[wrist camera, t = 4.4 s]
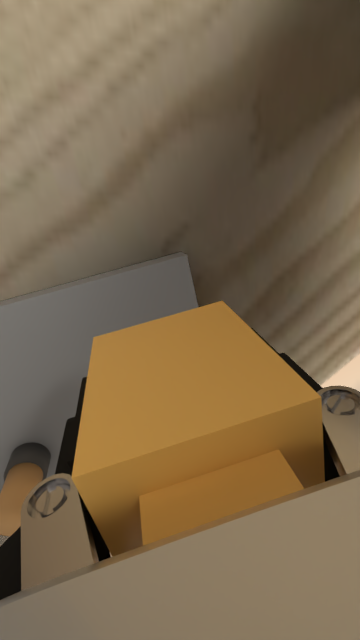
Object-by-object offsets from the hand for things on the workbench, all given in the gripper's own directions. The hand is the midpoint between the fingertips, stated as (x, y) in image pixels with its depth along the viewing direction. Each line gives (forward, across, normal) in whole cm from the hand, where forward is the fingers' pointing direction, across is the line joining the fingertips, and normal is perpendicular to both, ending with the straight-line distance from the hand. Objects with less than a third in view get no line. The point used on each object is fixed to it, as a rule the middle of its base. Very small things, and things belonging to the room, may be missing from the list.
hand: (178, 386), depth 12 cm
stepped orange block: (+1, 0, 0) cm, 1 cm away
